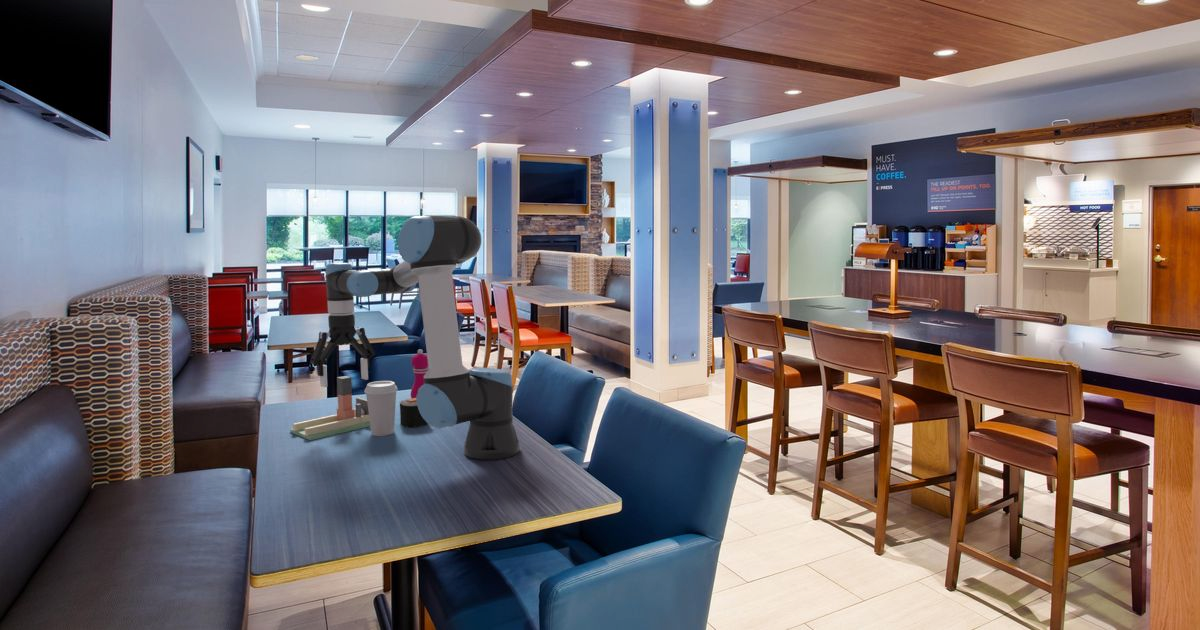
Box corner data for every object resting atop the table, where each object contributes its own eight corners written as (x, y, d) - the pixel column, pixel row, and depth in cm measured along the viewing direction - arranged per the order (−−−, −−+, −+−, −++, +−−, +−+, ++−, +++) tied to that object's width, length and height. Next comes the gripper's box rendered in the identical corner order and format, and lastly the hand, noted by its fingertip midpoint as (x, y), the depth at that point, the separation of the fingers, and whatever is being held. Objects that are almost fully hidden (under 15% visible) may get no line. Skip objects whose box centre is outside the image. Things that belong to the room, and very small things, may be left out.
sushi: (432, 424, 223) (431, 399, 222) (407, 429, 218) (406, 403, 217) (421, 418, 229) (420, 394, 228) (396, 423, 224) (395, 398, 223)
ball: (365, 406, 223) (354, 411, 220) (368, 418, 224) (356, 423, 221) (358, 404, 226) (347, 408, 223) (361, 416, 227) (349, 420, 224)
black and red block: (354, 422, 220) (352, 377, 218) (345, 424, 218) (343, 379, 216) (346, 419, 224) (344, 375, 222) (337, 421, 221) (335, 376, 219)
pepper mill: (410, 405, 246) (408, 347, 244) (431, 403, 248) (430, 346, 246) (411, 410, 239) (409, 351, 237) (433, 408, 242) (431, 350, 239)
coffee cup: (404, 428, 218) (402, 380, 216) (391, 438, 209) (390, 387, 207) (373, 427, 219) (372, 379, 217) (360, 436, 210) (358, 386, 208)
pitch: (377, 424, 223) (376, 402, 222) (310, 440, 206) (309, 416, 205) (357, 417, 230) (356, 396, 229) (290, 432, 214) (289, 409, 213)
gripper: (371, 309, 228) (374, 374, 231) (295, 317, 210) (299, 387, 212) (384, 311, 223) (387, 377, 226) (307, 318, 205) (312, 391, 207)
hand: (344, 382), depth 219 cm, fingers open, 13 cm apart
